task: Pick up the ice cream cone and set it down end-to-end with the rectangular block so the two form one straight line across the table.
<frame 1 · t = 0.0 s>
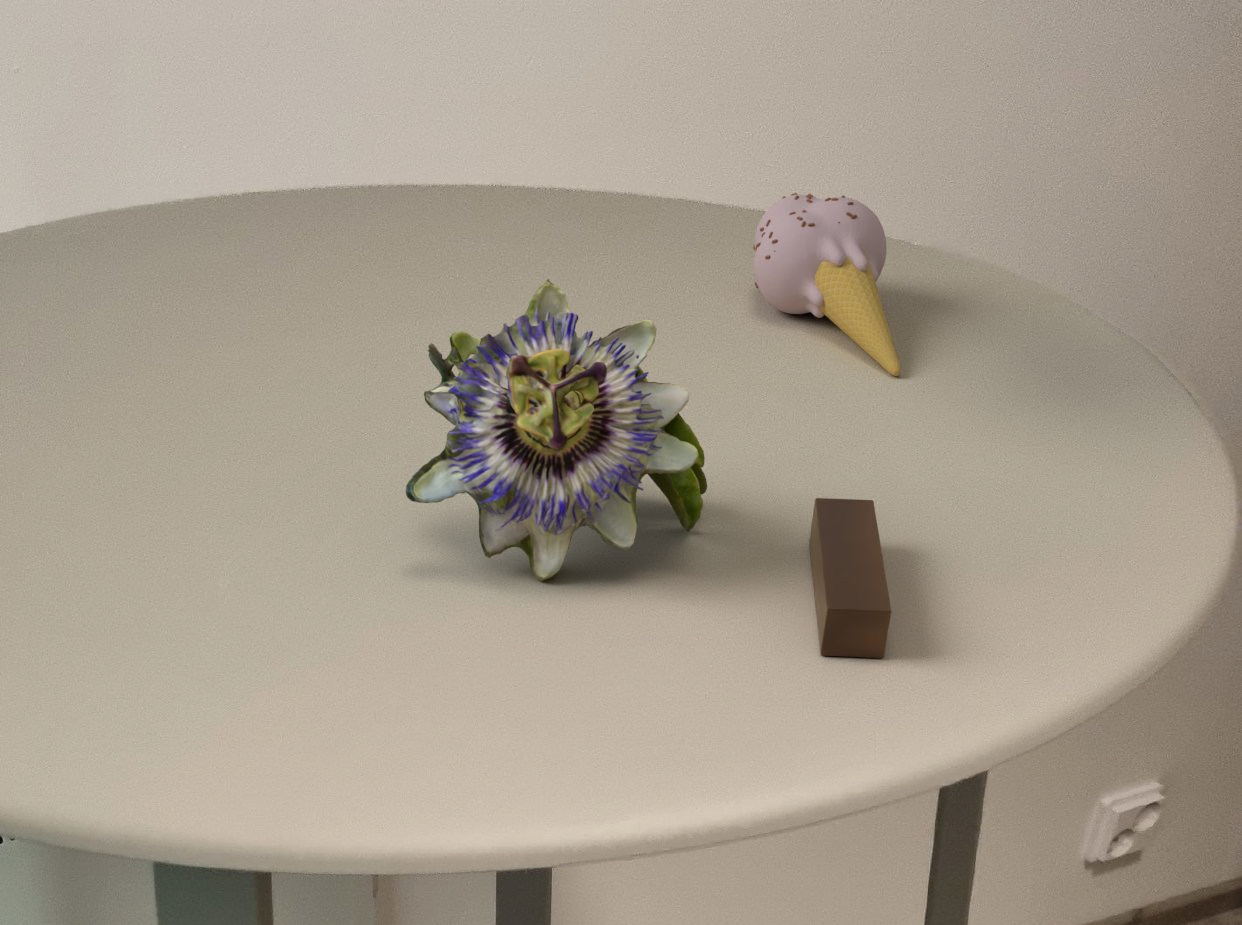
rectangular block: (844, 598, 77), on the table
passion flower: (553, 537, 82), on the table
ice cream cone: (829, 332, 100), on the table
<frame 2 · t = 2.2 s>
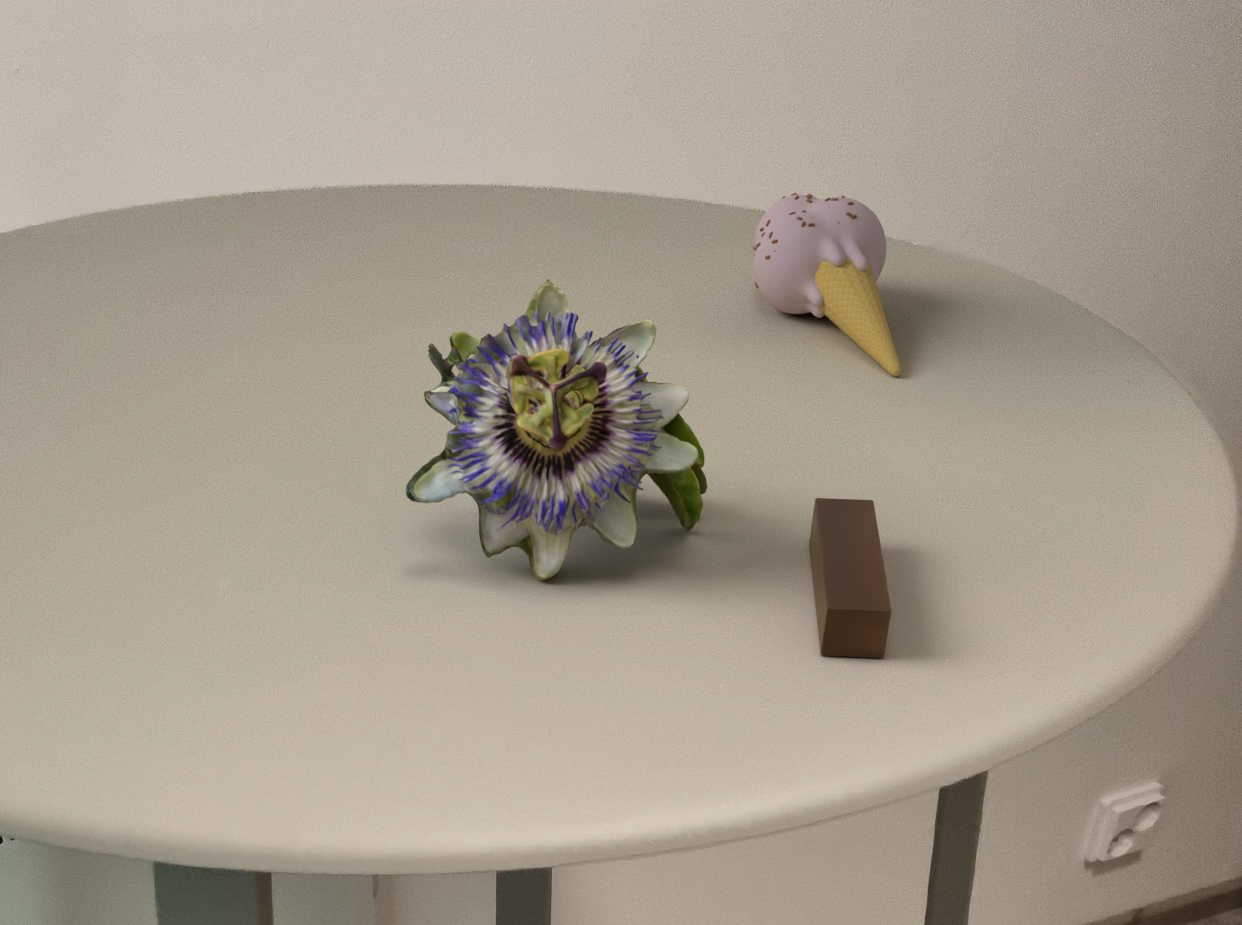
nothing on the table moved.
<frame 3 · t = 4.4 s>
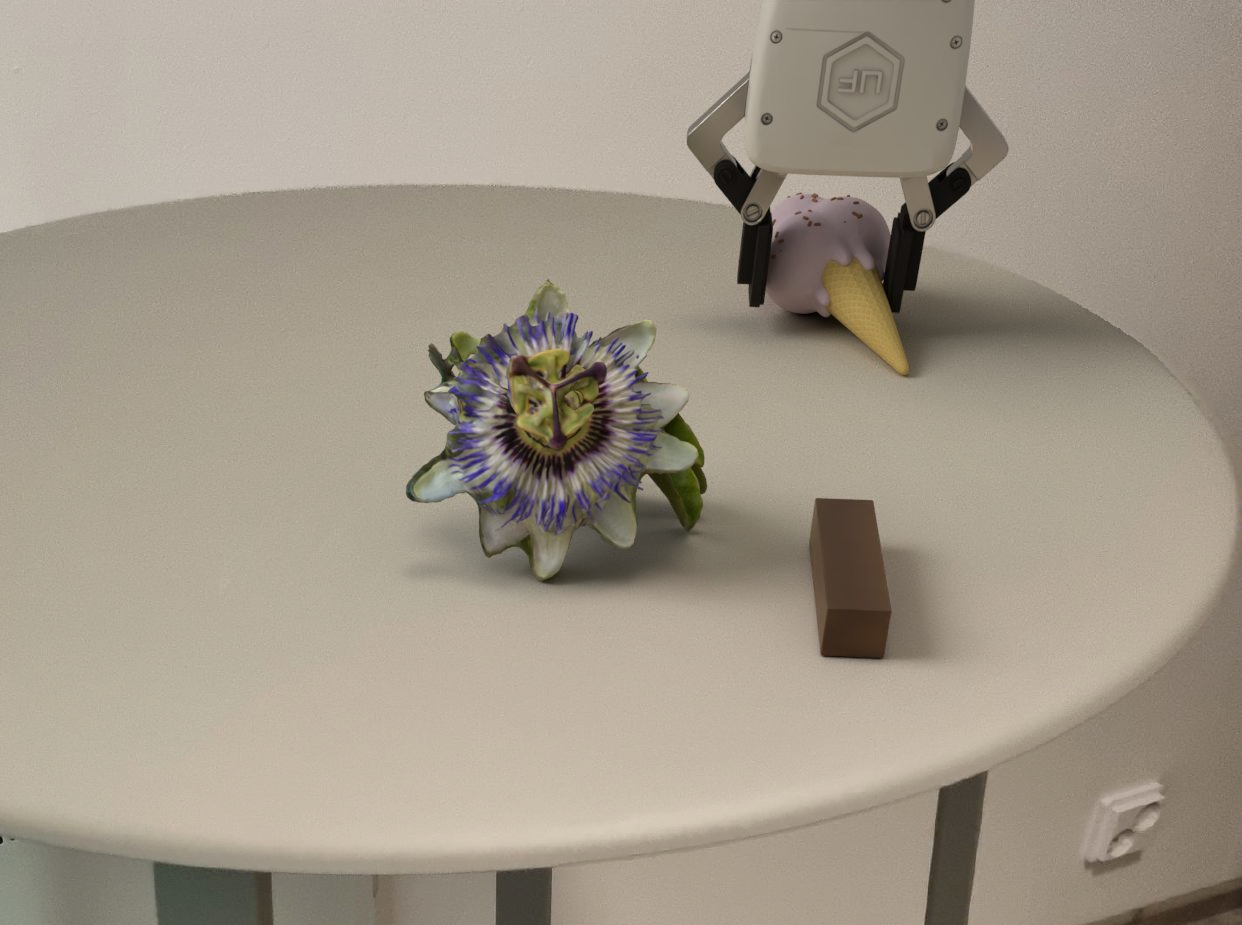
hand: (823, 298, 99), 1 cm above the table, tool pointing down, fingers closed on ice cream cone, 6 cm apart
ice cream cone: (835, 331, 100), on the table, touching gripper
everything else where it was.
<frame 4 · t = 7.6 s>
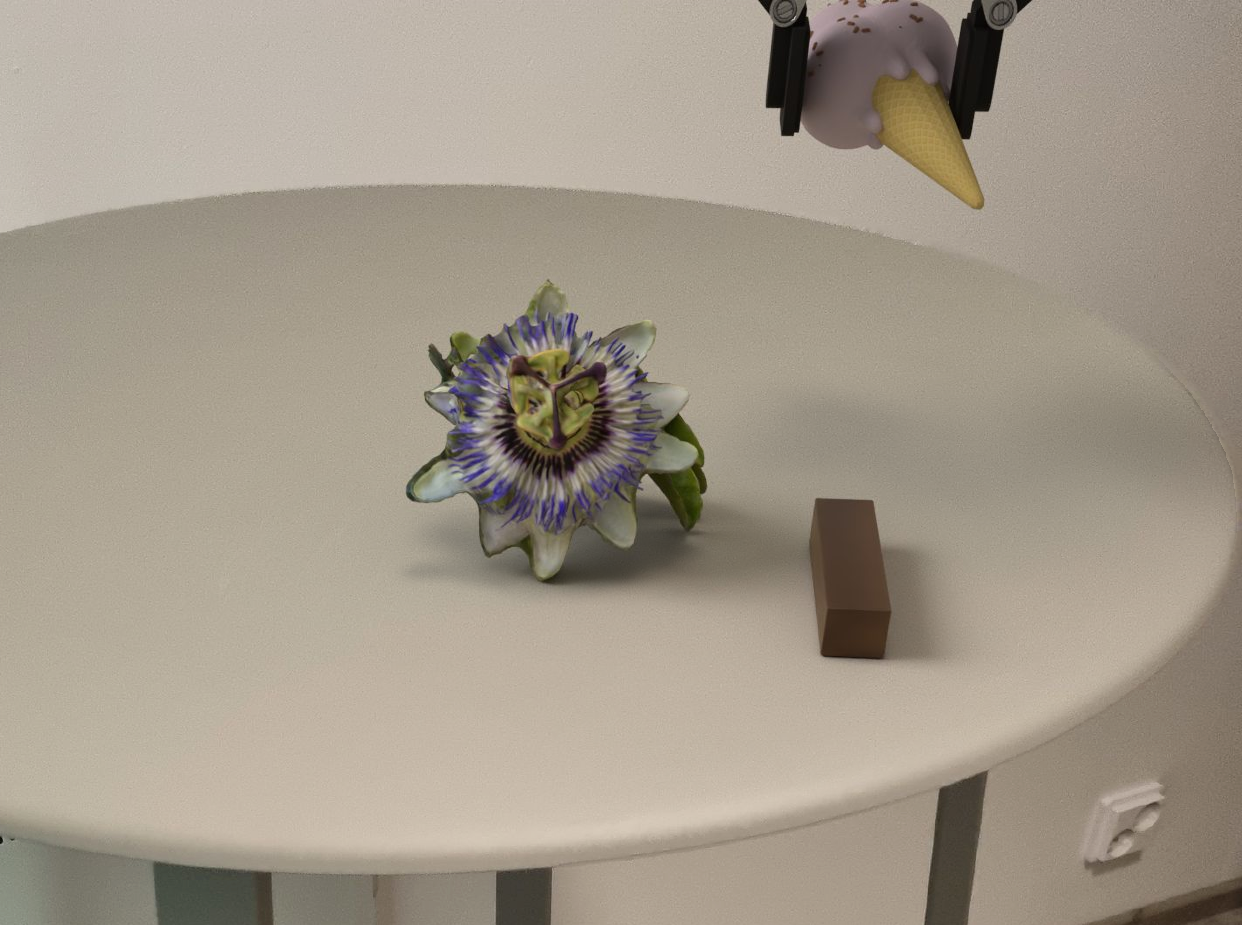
hand: (873, 125, 79), 14 cm above the table, tool pointing down, fingers closed on ice cream cone, 6 cm apart
ice cream cone: (889, 168, 80), point 12 cm above the table, touching gripper
everything else where it was.
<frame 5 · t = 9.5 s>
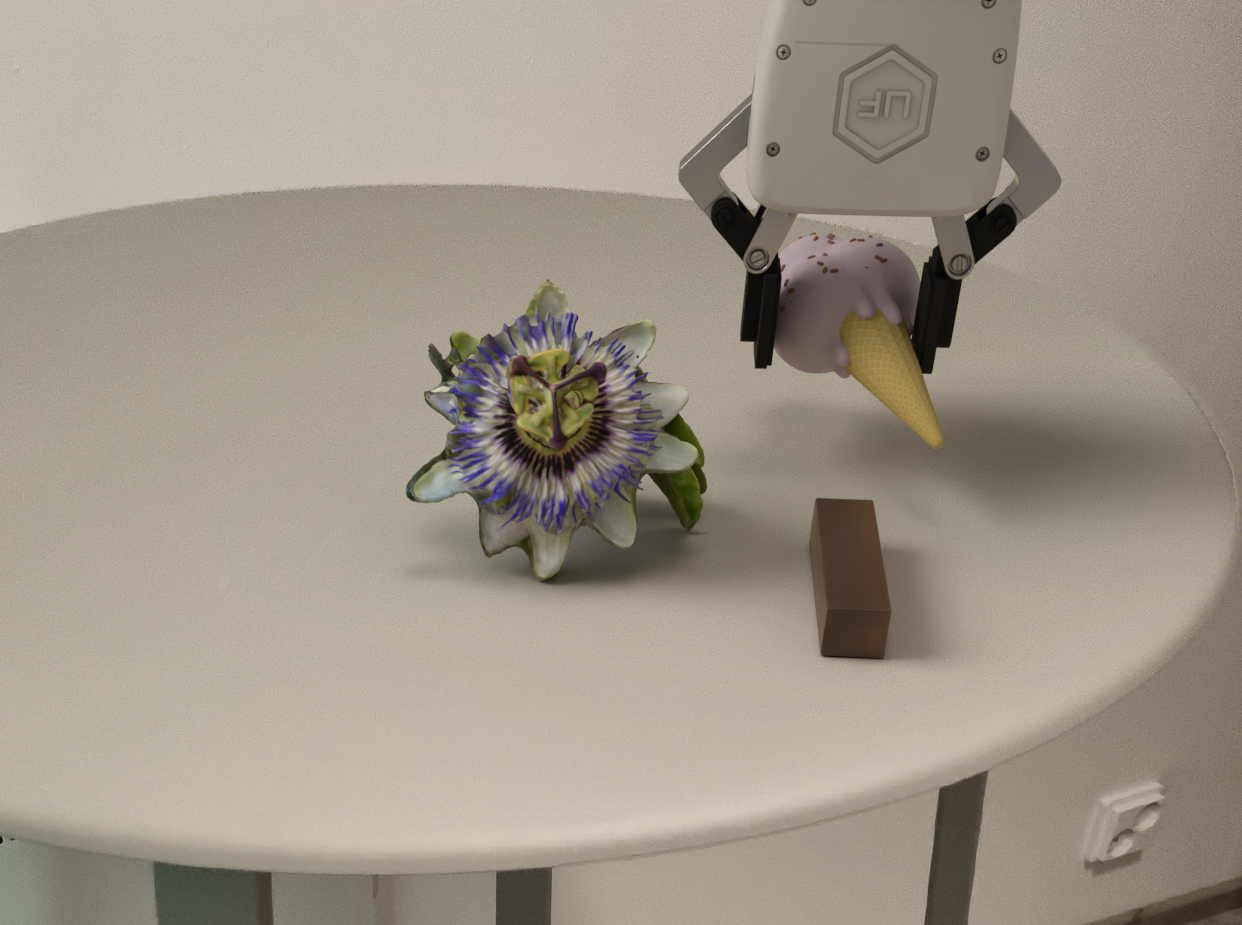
hand: (841, 356, 84), 5 cm above the table, tool pointing down, fingers closed on ice cream cone, 6 cm apart
ice cream cone: (856, 394, 85), point 3 cm above the table, touching gripper
everything else where it was.
when the fingers open (2 cm above the table, at t = 10.8 s): ice cream cone stays where it is, on the table.
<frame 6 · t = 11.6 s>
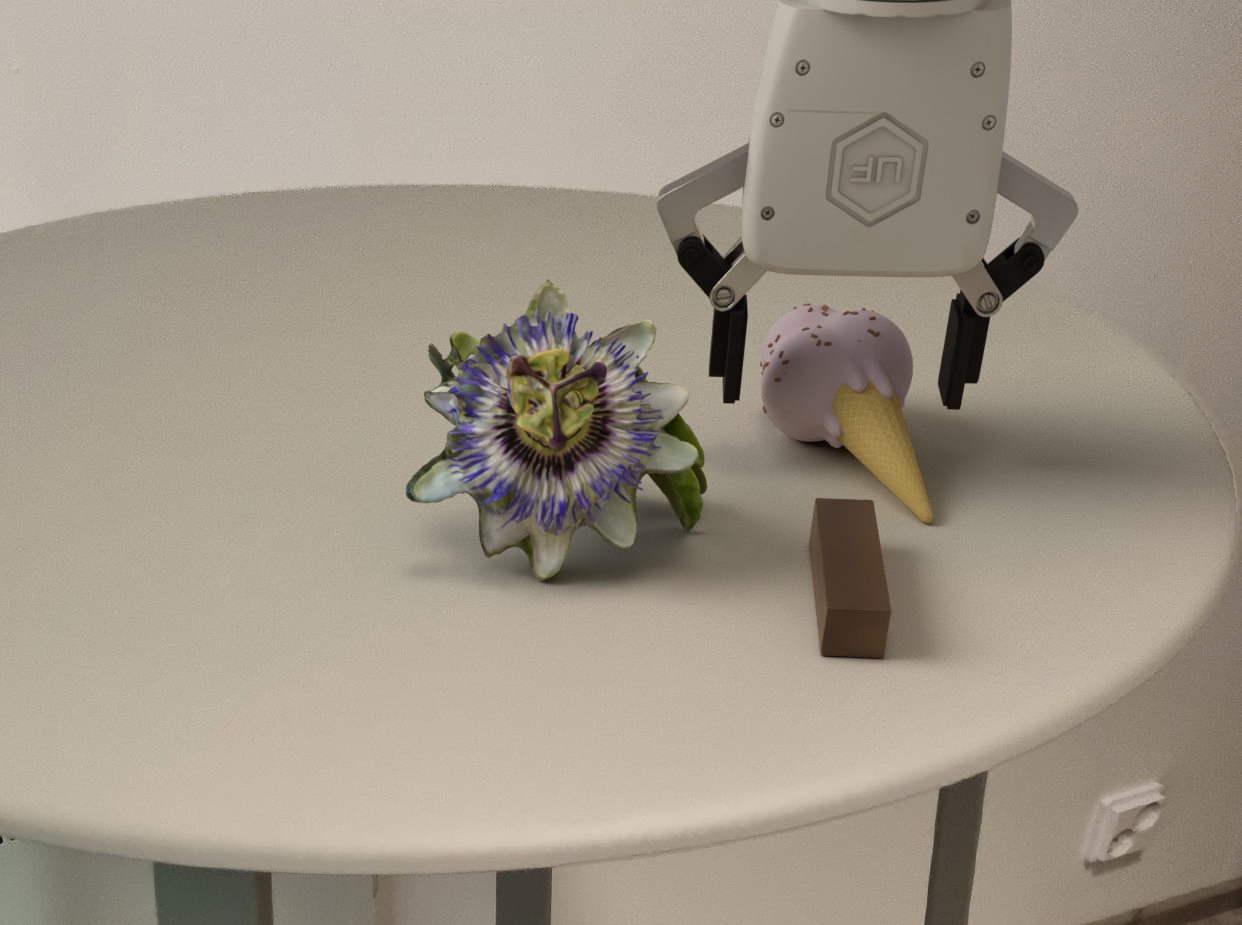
hand: (838, 395, 85), 3 cm above the table, tool pointing down, fingers open, 9 cm apart
ice cream cone: (848, 463, 87), on the table
everything else where it was.
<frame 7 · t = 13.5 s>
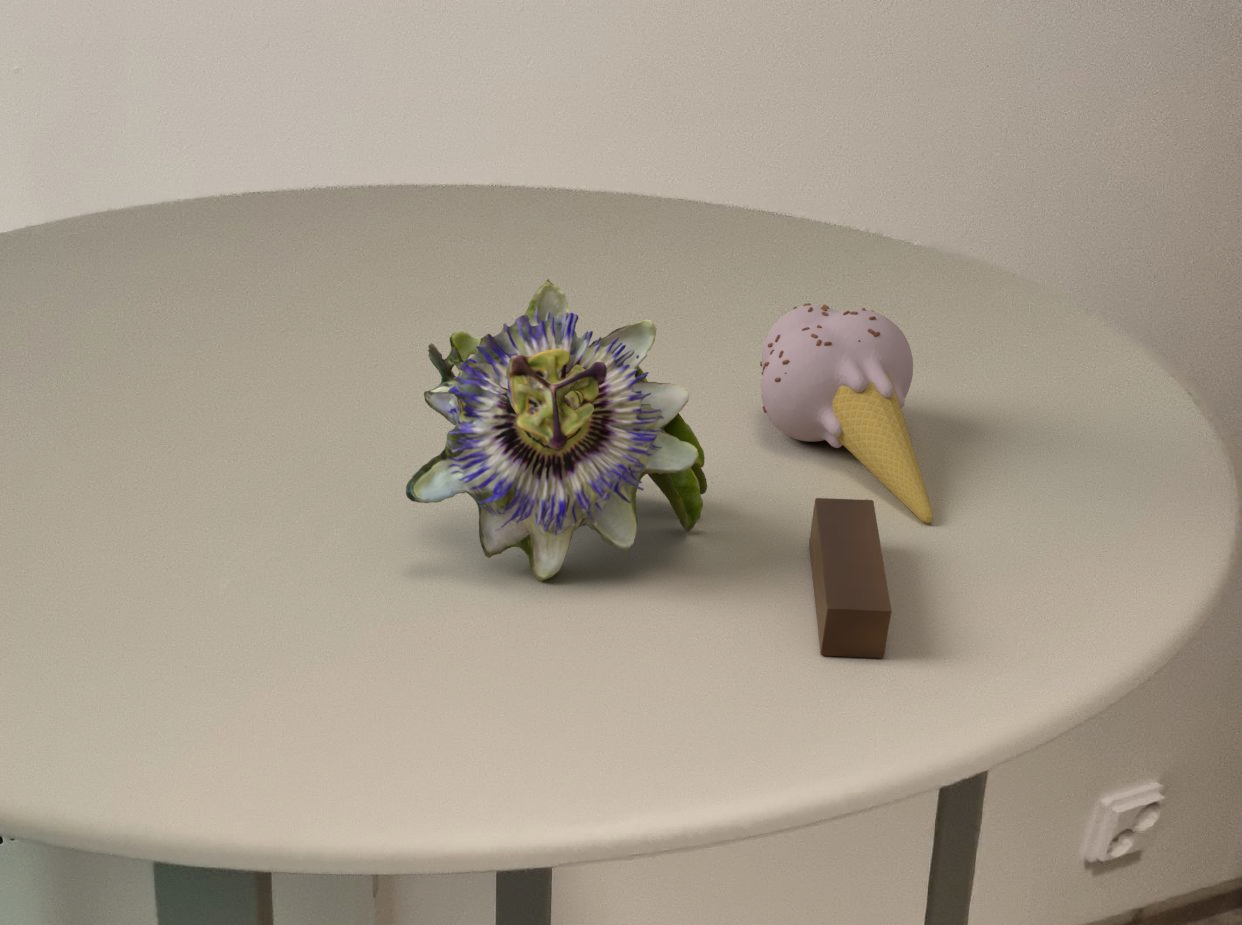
nothing on the table moved.
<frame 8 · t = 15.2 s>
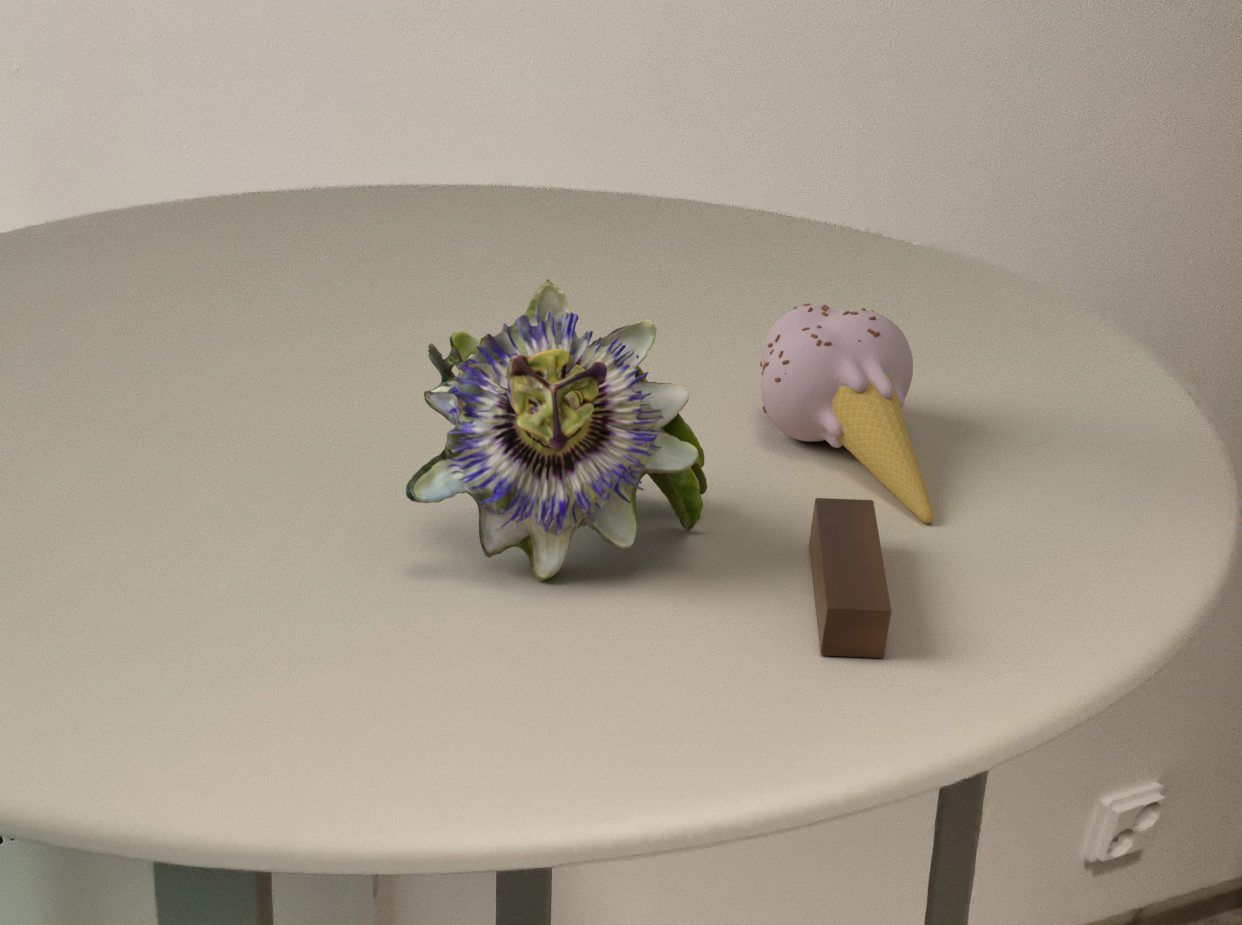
nothing on the table moved.
at the end: ice cream cone 1.0 cm from the target spot on the table beside the rectangular block, on the table; ice cream cone tilted 0°; the gripper is holding nothing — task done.
